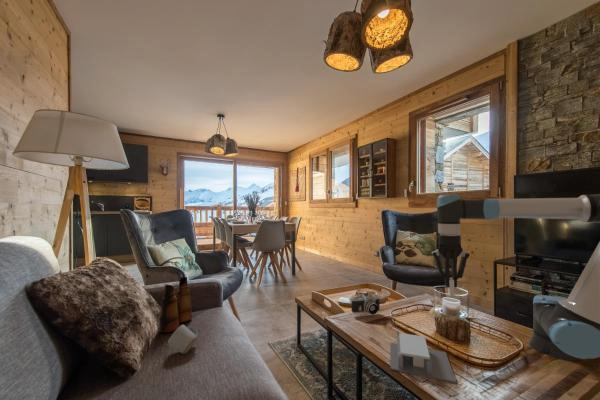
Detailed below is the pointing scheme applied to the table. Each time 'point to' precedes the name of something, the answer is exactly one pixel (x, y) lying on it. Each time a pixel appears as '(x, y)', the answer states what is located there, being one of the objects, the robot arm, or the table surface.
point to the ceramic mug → (183, 339)
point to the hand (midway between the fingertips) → (451, 295)
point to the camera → (365, 303)
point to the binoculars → (175, 307)
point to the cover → (413, 346)
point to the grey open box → (432, 368)
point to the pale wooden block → (418, 362)
